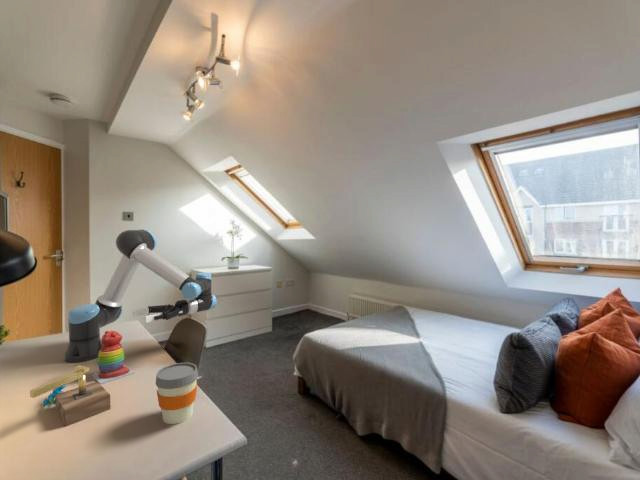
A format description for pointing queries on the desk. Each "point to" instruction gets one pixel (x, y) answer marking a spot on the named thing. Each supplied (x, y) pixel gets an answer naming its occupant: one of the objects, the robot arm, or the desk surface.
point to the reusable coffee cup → (177, 391)
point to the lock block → (82, 403)
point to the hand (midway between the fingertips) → (139, 316)
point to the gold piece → (64, 382)
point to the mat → (104, 380)
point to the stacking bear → (111, 356)
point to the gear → (53, 395)
